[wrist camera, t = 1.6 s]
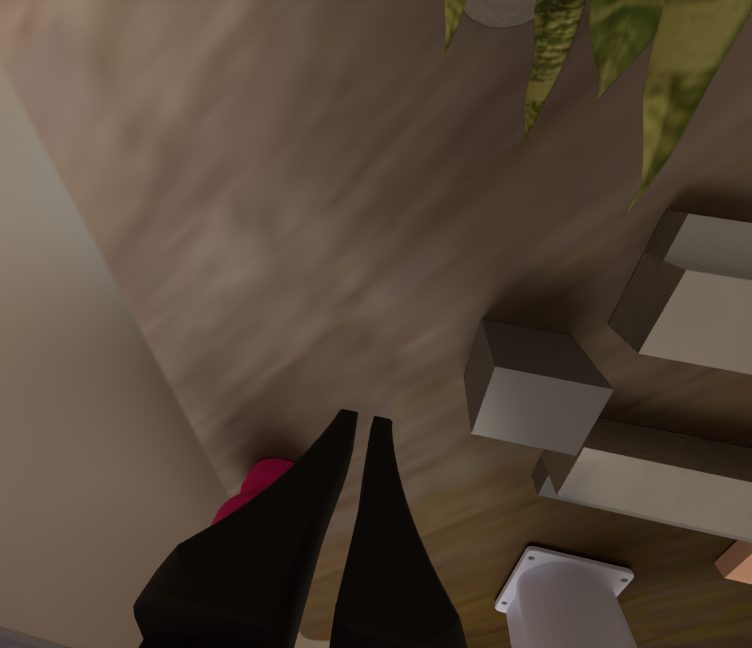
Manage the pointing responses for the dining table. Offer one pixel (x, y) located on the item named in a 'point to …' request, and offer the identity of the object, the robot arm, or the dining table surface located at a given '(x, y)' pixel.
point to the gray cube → (532, 387)
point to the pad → (737, 562)
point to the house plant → (624, 53)
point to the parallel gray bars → (681, 343)
